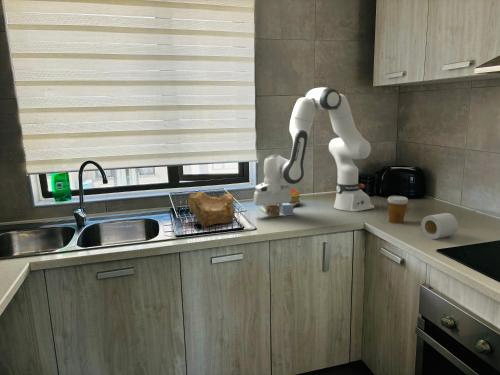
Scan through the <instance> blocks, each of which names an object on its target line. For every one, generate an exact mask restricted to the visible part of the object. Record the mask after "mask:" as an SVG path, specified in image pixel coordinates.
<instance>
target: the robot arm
mask: <svg viewBox="0 0 500 375" xmlns="http://www.w3.org/2000/svg"><path fill="white" fill-rule="evenodd" d="M317 111H327V112H328V116H329V119H330V123H331V126H332V130H333V132H334V134H336V135H337V136H338V137H335V138H332V139H331V140H330V142H329V143H328V150H329V153H330V154H331V156H332V157H333V159H334V161H335V164H336V168H337V169H336V170H337V179H336V180H337V182H336V189H335V190H336V191H335V192H336V193H335V194H336V196H335V200H334V204H333V208H334V209H336V210H338V211H339V210H341V211H348V212H355V213H356V212H361V211H366V210H371V209H374V208H375V205H374V204H372V203H371V198H370V196H369V194H367V193H366V192H364V191H363V188H365V184H363V183H359V168H358V167H357V165H355V163H354V161H353V159H354V160H361V159H362V160H364V159H367V158H368V157H369V156H370V154H371V151H372V147H371V146H372V145H371V144H370V142H369V141H368V140H367V139H365V138H364V137H363V136H362V135H361V133H360V132H359V131H358V129H357V126H356V125H355V120H354V117H353V114H352V110H351V107H350V104H349V101H348V99H347V97H346V95H344V93H340V92H339V91H338V90H337V89H336V88H334V87H325V86H323V87H312V88H310V89H308V90H306V92H305V94H304V96H302V97H299V98H298V99H297V100H296V103H295V105H294V107H293V110H292V112H291V117H290V120H289V134H290V135H291V138H292V150H291V155H290V159H287V158H285V157H282V156H281V155H280V154H270V155H267V156H266V157H265V158H264V162H263V176H264V178H263V182H262V183H259V184H256V185H255V186H254V189H255V191H254V193H253V199H252V200H253V204H254V205H255V206H257V207H259V206H260V207H261V206H262V207H264V208H265V212H266V213H269V209H267V208H266V207H267V205H269V204H278V206H279V211H280V208H281V207H282V203H287V202H291V188H292V186H291V185H296V184H298V183H300V182H301V181H302V180H303V179H304V176H305V171H304V160H305V154H306V149H307V144H308V140H309V136H310V133H311V130H312V129H311V128H312V127H313V123H314V122H313V121H314V118H315V114H316V113H317ZM282 179H284V181H286V182H287V183H288V184H282ZM290 184H291V185H290ZM361 188H362V189H361Z"/></svg>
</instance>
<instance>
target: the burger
mask: <svg viewBox="0 0 500 375" xmlns="http://www.w3.org/2000/svg"><path fill="white" fill-rule="evenodd" d="M300 197H301V196H300V192H299V191H298V190H297V189H295V188H292V187H291V202H287V203H290V204H292V205H293V207H296V206H298V205H299V204H300V203H301V200H300Z"/></svg>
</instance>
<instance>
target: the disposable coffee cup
mask: <svg viewBox="0 0 500 375" xmlns="http://www.w3.org/2000/svg"><path fill="white" fill-rule="evenodd" d="M386 201H387V204H388V205H387V206H388V216H389V217H388V220H389V223H392V224H403V223H404V220H405V214H406V210H407V205H408V203H409V199H408V197H406V196H401V195H391V196H388V198H387V199H386Z"/></svg>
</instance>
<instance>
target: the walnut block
mask: <svg viewBox="0 0 500 375" xmlns="http://www.w3.org/2000/svg"><path fill="white" fill-rule="evenodd" d="M266 208H267V209H269V213H266V214H265V215H267V216H268V217H269V218H274V217H280V212H279V205H278V206H277V205H276V204H270V205H267V207H266Z"/></svg>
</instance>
